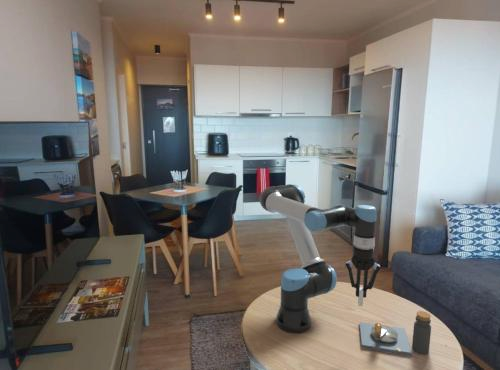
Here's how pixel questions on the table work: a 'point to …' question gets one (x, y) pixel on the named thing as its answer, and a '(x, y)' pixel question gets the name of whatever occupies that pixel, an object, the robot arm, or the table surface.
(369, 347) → the board
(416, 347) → the bottle
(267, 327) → the table surface
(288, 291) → the robot arm
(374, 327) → the dial
